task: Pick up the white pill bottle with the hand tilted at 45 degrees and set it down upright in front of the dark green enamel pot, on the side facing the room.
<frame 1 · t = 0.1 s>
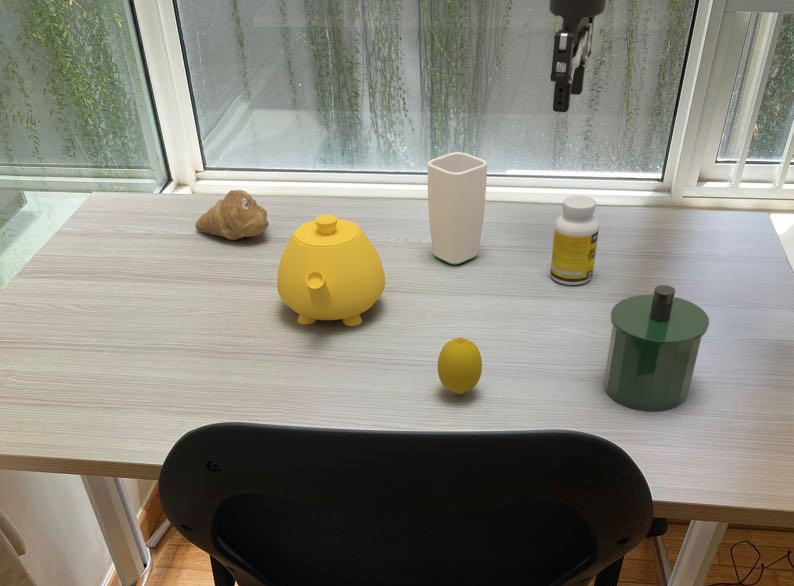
hand: (567, 102, 128), 22 cm above the table, tool pointing down, fingers open, 8 cm apart
pot: (645, 387, 111), on the table
pill bottle: (570, 278, 134), on the table
teapot: (331, 317, 127), on the table
pot lid: (659, 320, 105), point 9 cm above the table, touching pot
lemon: (458, 395, 112), on the table
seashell: (236, 237, 149), on the table
cup: (455, 258, 140), on the table
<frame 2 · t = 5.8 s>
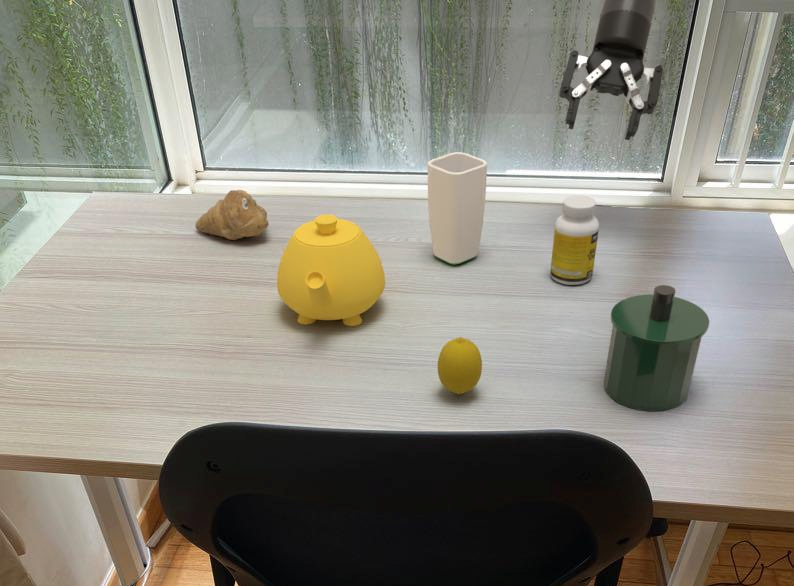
hand: (599, 132, 130), 18 cm above the table, tool tilted 40°, fingers open, 8 cm apart
nothing on the table moved.
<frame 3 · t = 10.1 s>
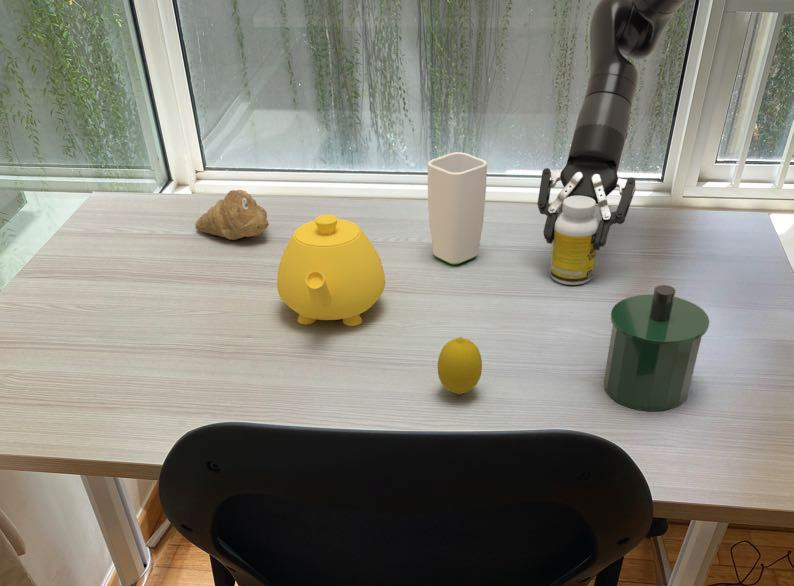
hand: (572, 244, 129), 6 cm above the table, tool tilted 45°, fingers closed on pill bottle, 6 cm apart
pill bottle: (570, 278, 134), on the table, touching gripper
everything else where it was.
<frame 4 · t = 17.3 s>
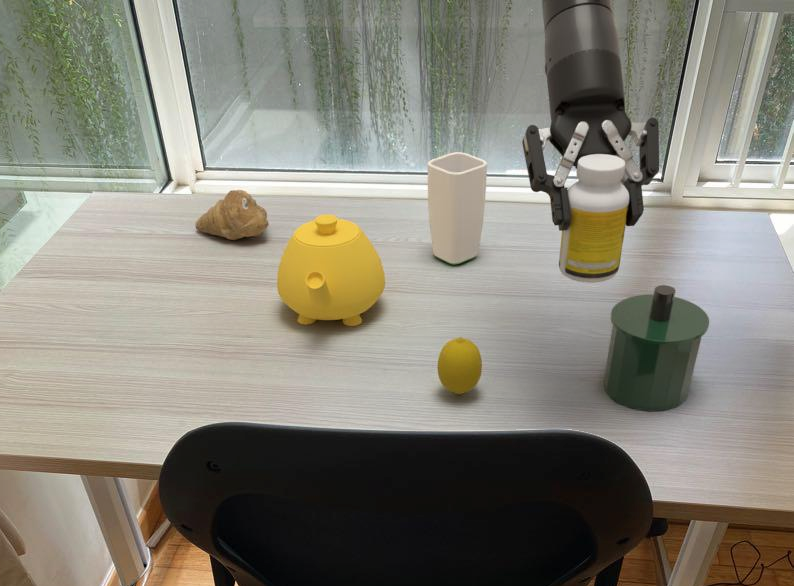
hand: (599, 225, 90), 24 cm above the table, tool tilted 45°, fingers closed on pill bottle, 6 cm apart
pill bottle: (587, 273, 95), point 18 cm above the table, touching gripper
everything else where it was.
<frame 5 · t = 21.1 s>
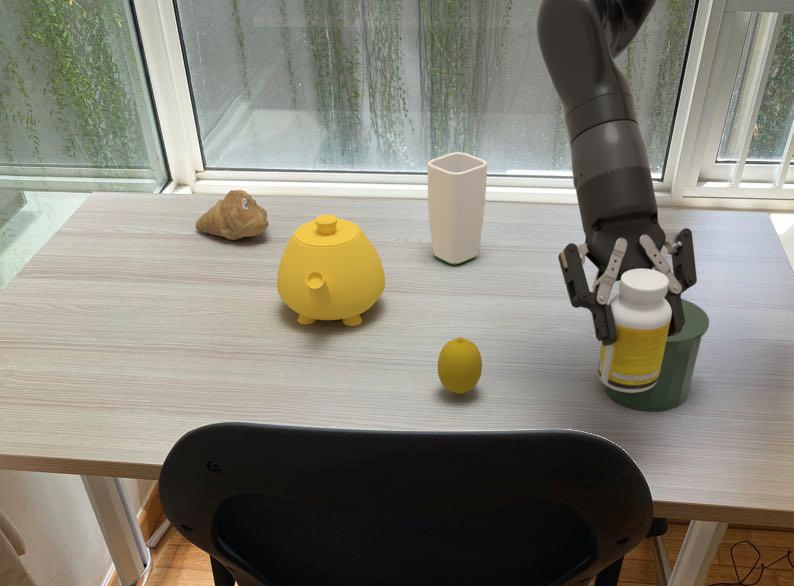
hand: (642, 338, 90), 16 cm above the table, tool tilted 45°, fingers closed on pill bottle, 6 cm apart
pill bottle: (626, 380, 95), point 10 cm above the table, touching gripper
everything else where it was.
when the fingers open (6 cm above the table, at t = 24.4 s): pill bottle stays where it is, on the table.
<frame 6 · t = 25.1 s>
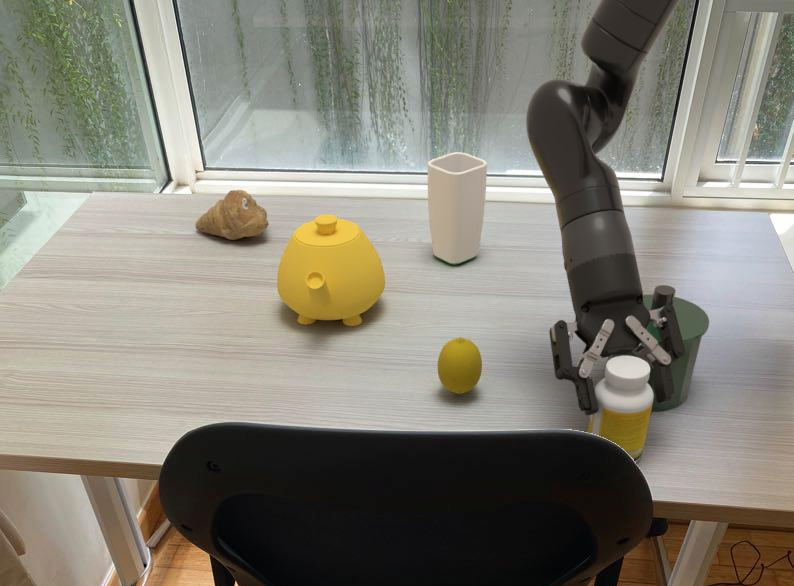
hand: (628, 407, 96), 7 cm above the table, tool tilted 45°, fingers open, 8 cm apart
pill bottle: (612, 454, 102), on the table
everything else where it was.
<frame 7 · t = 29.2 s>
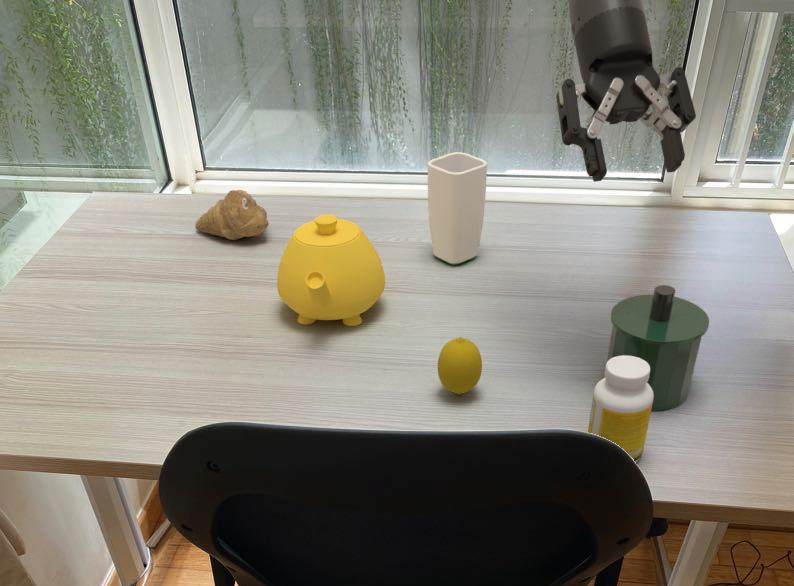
hand: (638, 173, 93), 27 cm above the table, tool tilted 45°, fingers open, 8 cm apart
nothing on the table moved.
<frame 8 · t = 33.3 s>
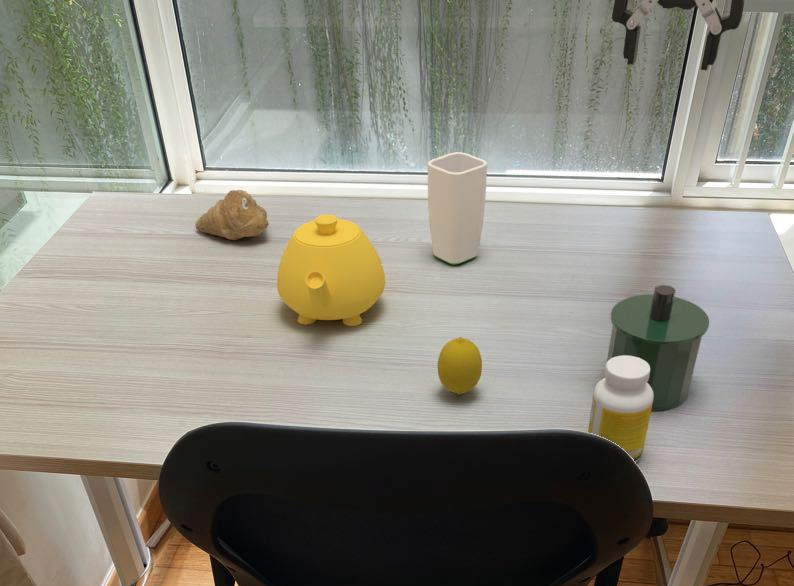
hand: (667, 65, 104), 32 cm above the table, tool pointing down, fingers open, 8 cm apart
nothing on the table moved.
at the end: pill bottle inside the target area on the table beside the pot (0.2 cm from its centre), on the table; pill bottle tilted 0°; the gripper is holding nothing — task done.
